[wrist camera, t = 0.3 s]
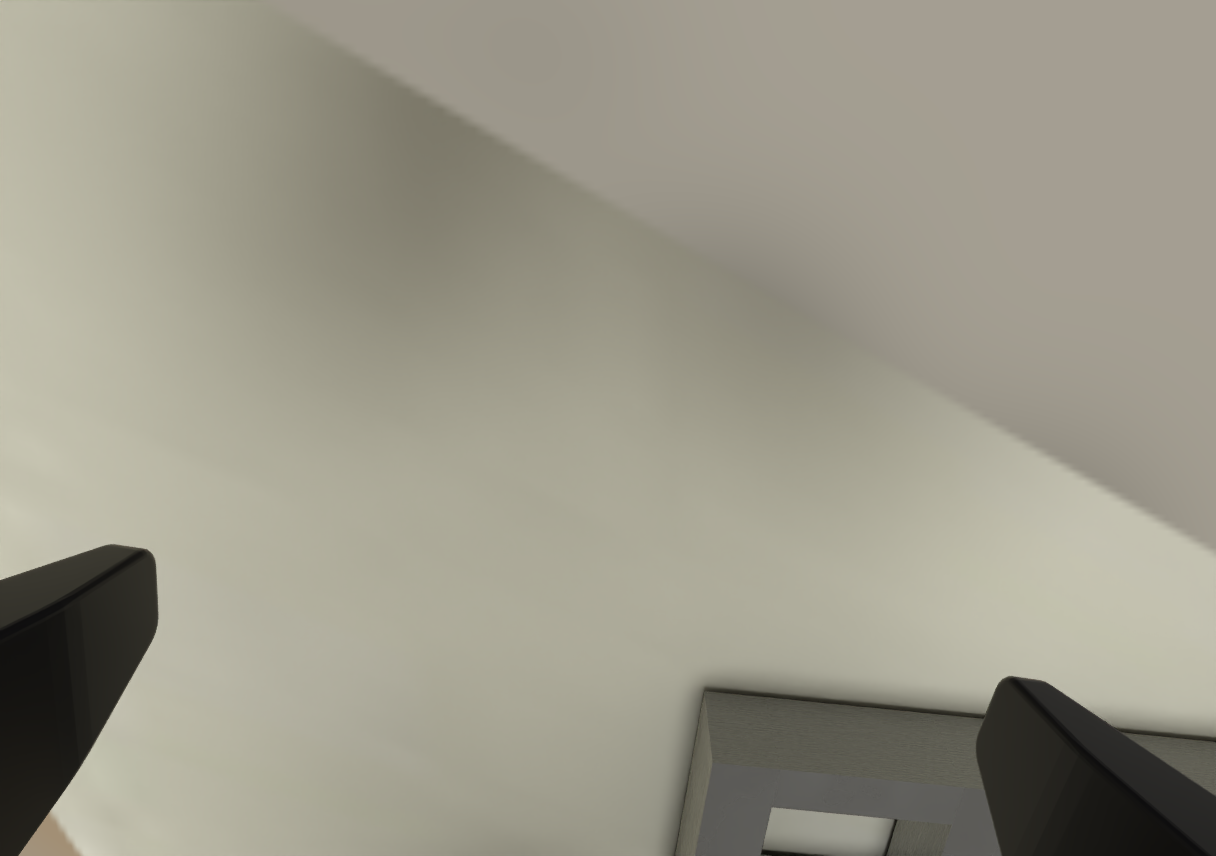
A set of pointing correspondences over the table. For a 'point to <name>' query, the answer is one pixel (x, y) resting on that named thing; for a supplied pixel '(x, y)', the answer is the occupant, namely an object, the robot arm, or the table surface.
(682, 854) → the grey slotted block
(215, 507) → the table surface
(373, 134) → the table surface
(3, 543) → the table surface
